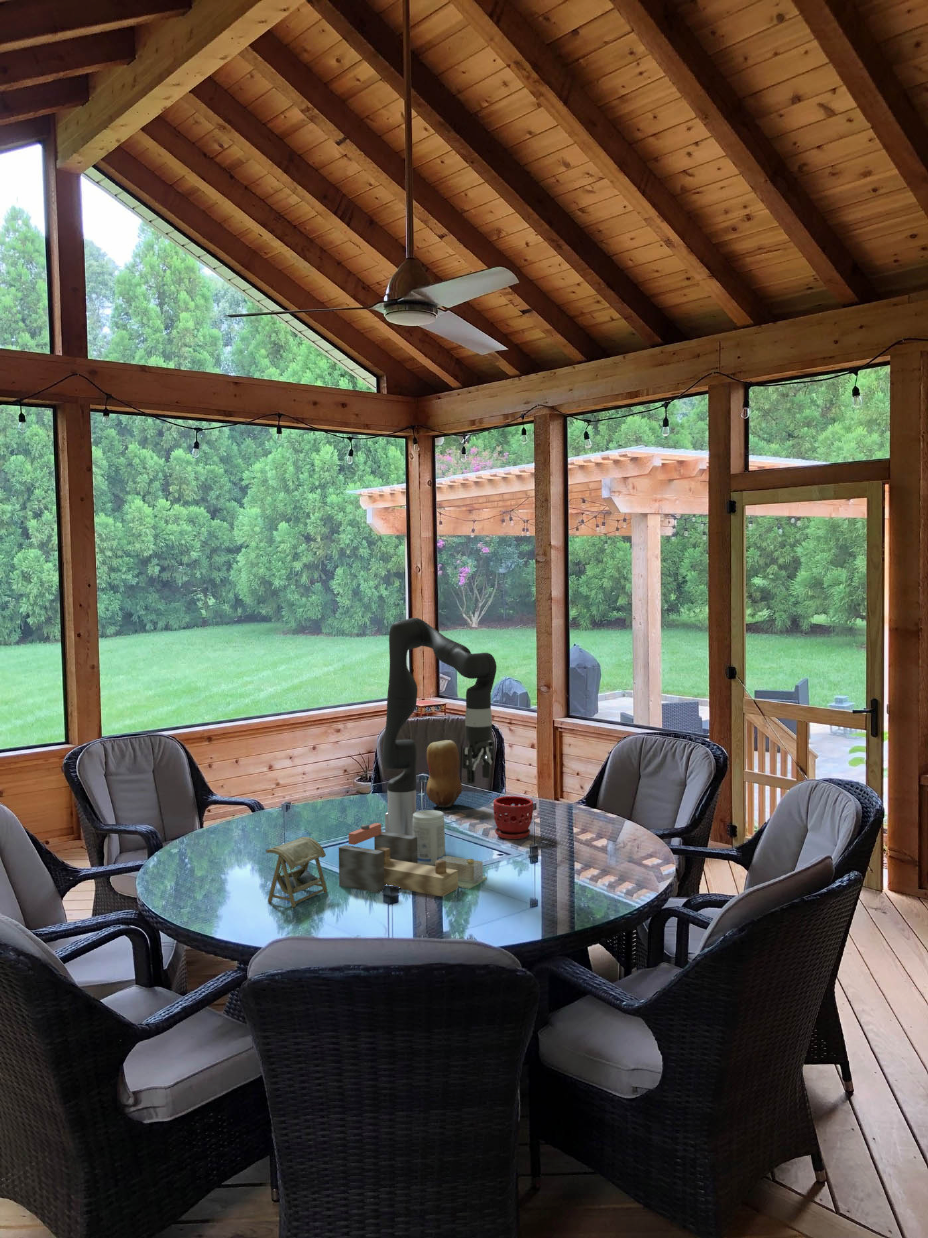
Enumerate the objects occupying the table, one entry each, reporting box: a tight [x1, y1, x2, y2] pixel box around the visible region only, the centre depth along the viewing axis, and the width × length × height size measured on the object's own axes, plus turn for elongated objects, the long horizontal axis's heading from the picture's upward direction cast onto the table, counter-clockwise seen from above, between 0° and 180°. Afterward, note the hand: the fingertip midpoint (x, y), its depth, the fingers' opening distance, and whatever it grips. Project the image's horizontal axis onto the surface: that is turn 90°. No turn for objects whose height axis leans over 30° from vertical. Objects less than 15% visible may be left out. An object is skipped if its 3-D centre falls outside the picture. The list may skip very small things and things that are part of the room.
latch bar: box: [348, 822, 382, 846], centre depth 273 cm, size 2×13×4 cm, turn 150°
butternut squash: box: [426, 739, 463, 808], centre depth 357 cm, size 14×13×25 cm
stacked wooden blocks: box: [338, 830, 459, 897], centre depth 267 cm, size 30×20×11 cm, turn 60°
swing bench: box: [265, 836, 328, 908], centre depth 256 cm, size 15×10×15 cm, turn 152°
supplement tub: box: [413, 809, 446, 866], centre depth 287 cm, size 10×10×15 cm
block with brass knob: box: [438, 855, 484, 884], centre depth 270 cm, size 12×5×6 cm, turn 60°
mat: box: [458, 875, 488, 890], centre depth 269 cm, size 10×10×1 cm
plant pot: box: [492, 795, 534, 840], centre depth 316 cm, size 13×13×12 cm
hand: (478, 780), depth 272 cm, fingers open, 8 cm apart
